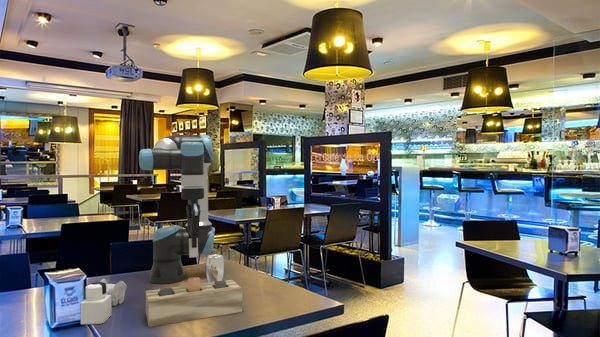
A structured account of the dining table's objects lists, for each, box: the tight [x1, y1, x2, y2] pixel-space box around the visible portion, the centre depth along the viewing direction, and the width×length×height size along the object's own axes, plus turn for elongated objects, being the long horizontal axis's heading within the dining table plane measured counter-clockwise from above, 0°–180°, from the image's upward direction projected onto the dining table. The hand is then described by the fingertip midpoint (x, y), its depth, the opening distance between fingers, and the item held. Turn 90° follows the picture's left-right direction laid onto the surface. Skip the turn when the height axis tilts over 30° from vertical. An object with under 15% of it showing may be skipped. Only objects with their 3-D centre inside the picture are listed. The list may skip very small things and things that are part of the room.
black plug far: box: [214, 280, 226, 289], centre depth 142 cm, size 4×4×8 cm
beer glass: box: [205, 254, 225, 283], centre depth 158 cm, size 7×7×15 cm
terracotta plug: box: [187, 276, 201, 293], centre depth 138 cm, size 4×4×8 cm
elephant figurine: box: [99, 278, 128, 307], centre depth 148 cm, size 10×12×9 cm
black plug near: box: [159, 287, 173, 296], centre depth 134 cm, size 4×4×8 cm
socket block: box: [145, 279, 243, 328], centre depth 138 cm, size 12×30×8 cm, turn 115°
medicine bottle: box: [79, 281, 113, 325], centre depth 133 cm, size 7×7×12 cm
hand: (193, 256), depth 138 cm, fingers closed
